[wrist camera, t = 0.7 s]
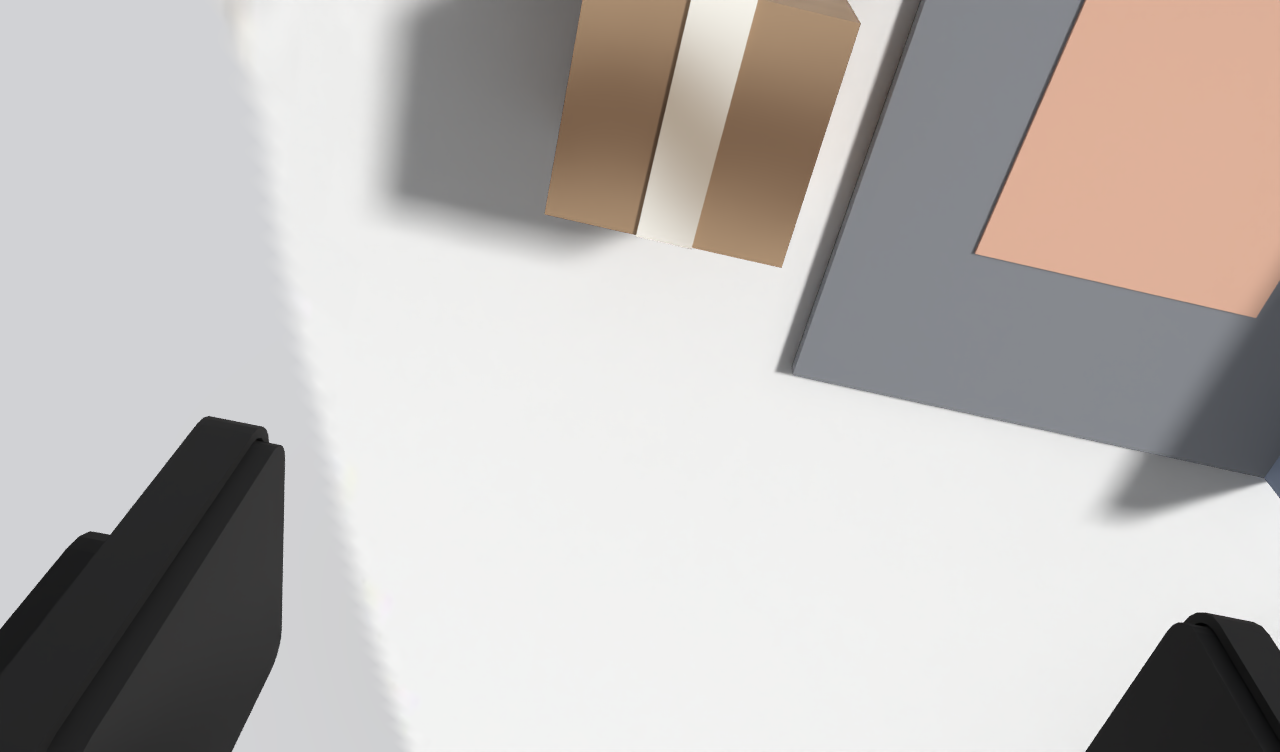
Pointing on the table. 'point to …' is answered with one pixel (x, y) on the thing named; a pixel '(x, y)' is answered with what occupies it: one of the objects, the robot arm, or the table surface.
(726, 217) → the brown cardboard box
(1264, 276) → the arena
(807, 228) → the table surface
